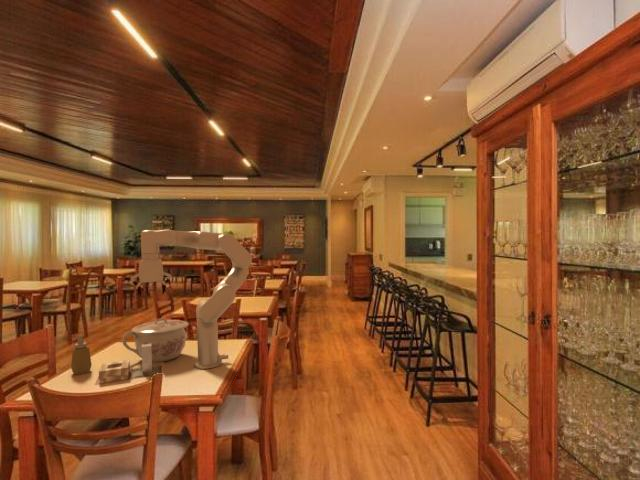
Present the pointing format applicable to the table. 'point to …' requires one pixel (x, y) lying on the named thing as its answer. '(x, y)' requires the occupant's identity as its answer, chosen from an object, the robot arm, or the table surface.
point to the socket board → (122, 372)
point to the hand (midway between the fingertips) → (151, 294)
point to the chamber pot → (159, 338)
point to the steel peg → (146, 358)
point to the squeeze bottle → (81, 358)
